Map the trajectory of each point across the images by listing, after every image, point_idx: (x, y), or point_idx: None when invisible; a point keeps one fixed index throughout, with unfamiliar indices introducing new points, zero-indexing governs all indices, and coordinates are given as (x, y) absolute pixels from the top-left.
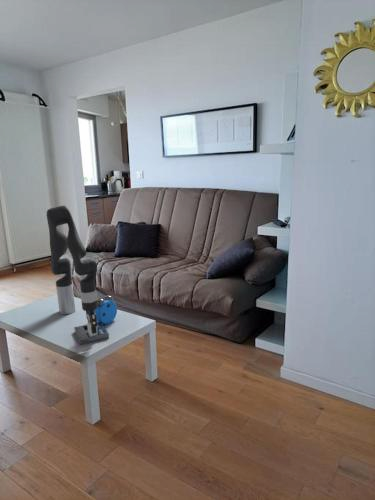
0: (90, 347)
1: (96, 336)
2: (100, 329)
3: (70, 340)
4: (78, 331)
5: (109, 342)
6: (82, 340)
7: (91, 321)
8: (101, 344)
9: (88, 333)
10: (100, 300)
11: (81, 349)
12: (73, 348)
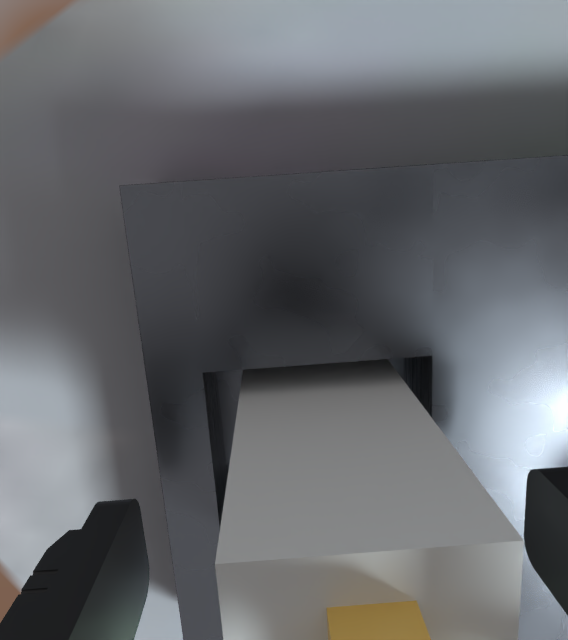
0: (36, 337)
1: (166, 512)
2: None
3: (480, 27)
4: None
5: None
6: (131, 238)
7: None
8: (76, 499)
9: (346, 396)
10: None
11: (16, 187)
12: (112, 49)
